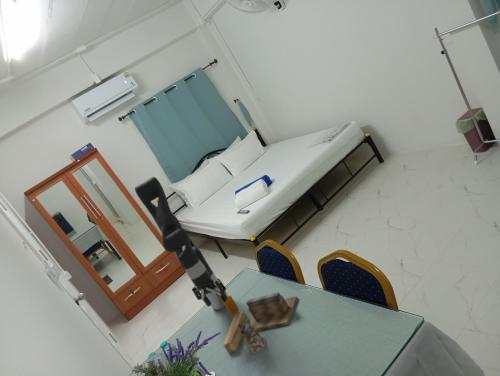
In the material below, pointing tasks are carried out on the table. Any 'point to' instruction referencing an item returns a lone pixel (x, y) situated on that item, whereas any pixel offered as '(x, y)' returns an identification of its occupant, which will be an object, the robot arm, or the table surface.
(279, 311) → the ridge stand
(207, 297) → the robot arm
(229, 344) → the oak batten
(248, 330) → the figurine
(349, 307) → the table surface
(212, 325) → the table surface
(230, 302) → the carrot
